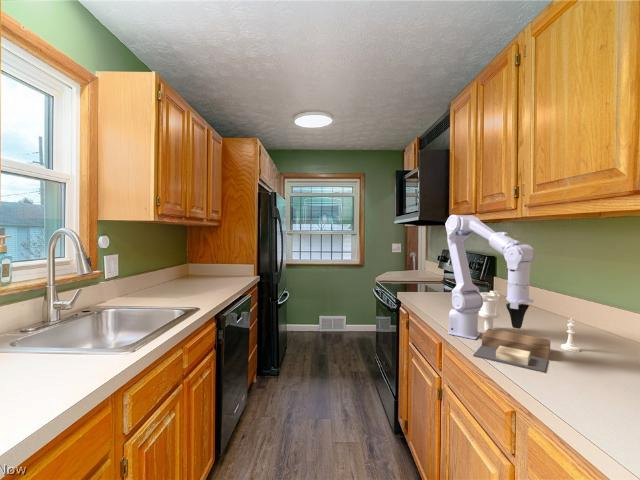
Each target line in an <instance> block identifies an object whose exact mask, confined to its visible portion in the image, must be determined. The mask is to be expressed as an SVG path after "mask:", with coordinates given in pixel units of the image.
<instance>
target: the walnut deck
mask: <svg viewBox="0 0 640 480" xmlns="http://www.w3.org/2000/svg"><path fill="white" fill-rule="evenodd" d="M481 345H482V346H487V347H492V348H496V349H498V347H499V346H505V347H510V348H514V349H519V350H524V351H529V352H530V356H534V357H539V358H544V359H548V360H549V357H550V353H551V339H549V338H542V337H537V336H532V335H526V334H521V333H514V332H510V331H504V330H498V329H494V328H493V329H488V330H487V331H486V330H485V332H484V333H483V334H482V335H481Z"/></svg>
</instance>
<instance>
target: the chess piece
mask: <svg viewBox="0 0 640 480" xmlns="http://www.w3.org/2000/svg"><path fill="white" fill-rule="evenodd" d="M567 322H568V323H567V324H566V326H567V327H568V330H566V333H568V335H567V336H568V337H567V341H566V342H565V343H562V344H561V345H560V348H561V349H563V350H564V351H568V352H572V351H573V352H574V353H577V352H580V347H579V346H577V345H575V343H574V337H573V334H575V333H576V332H575V331H574V329H575V324H574V323H576V322H575V320H573V318H569V319H567Z"/></svg>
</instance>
